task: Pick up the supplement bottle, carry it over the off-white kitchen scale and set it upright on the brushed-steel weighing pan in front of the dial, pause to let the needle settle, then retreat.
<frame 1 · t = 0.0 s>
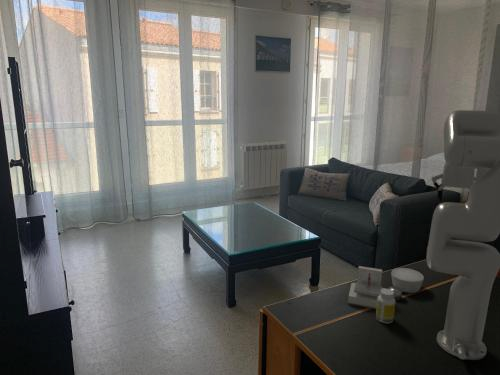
hand: (454, 201, 142), 31 cm above the table, fingers open, 9 cm apart
supplement bottle: (384, 319, 121), on the table
pan: (367, 290, 131), point 4 cm above the table, slide at 1.2 cm
scale housing: (367, 299, 132), on the table
ramekin: (405, 287, 142), on the table
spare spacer: (394, 296, 135), on the table
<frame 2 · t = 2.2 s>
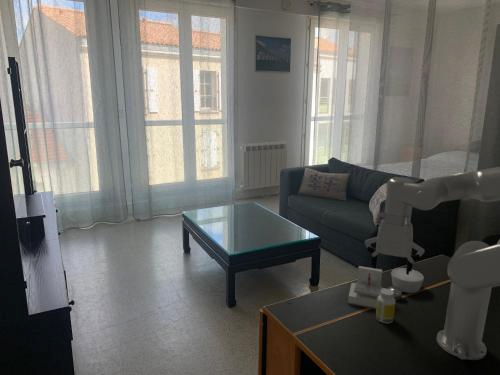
hand: (390, 269, 118), 17 cm above the table, fingers open, 9 cm apart
nothing on the table moved.
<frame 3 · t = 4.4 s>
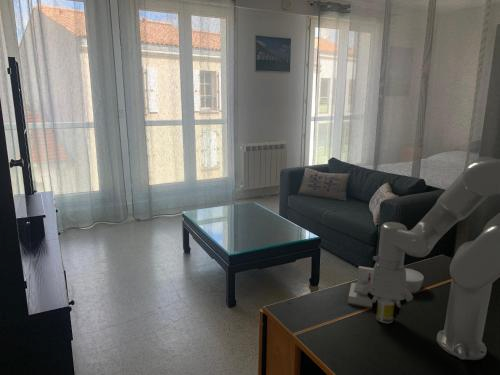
hand: (384, 313, 121), 2 cm above the table, fingers closed on supplement bottle, 5 cm apart
supplement bottle: (384, 319, 121), on the table, touching gripper
everything else where it was.
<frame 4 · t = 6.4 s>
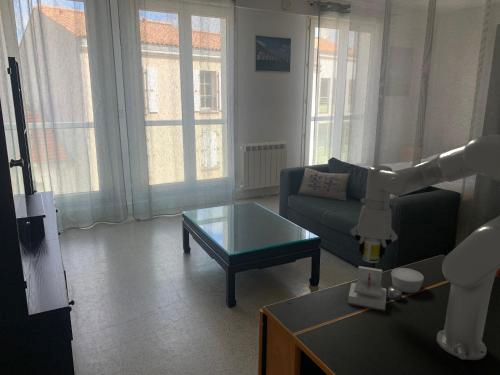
hand: (371, 254, 127), 18 cm above the table, fingers closed on supplement bottle, 5 cm apart
supplement bottle: (370, 260, 127), point 16 cm above the table, touching gripper
everything else where it was.
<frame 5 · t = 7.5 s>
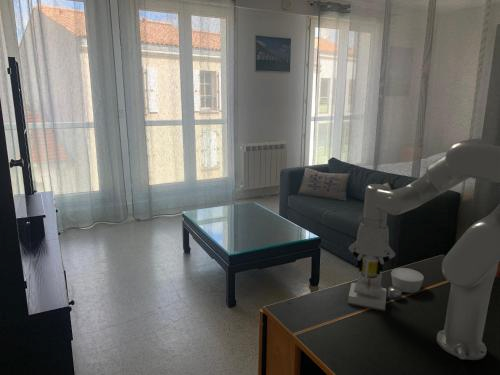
hand: (369, 271, 129), 11 cm above the table, fingers closed on supplement bottle, 5 cm apart
supplement bottle: (368, 276, 129), point 9 cm above the table, touching gripper
everything else where it was.
when the fingers open (9 cm above the table, at t = 8.3 s): supplement bottle drops 2 cm, resting on pan.
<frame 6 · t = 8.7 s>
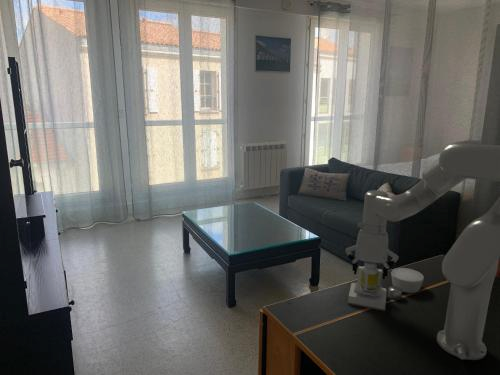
hand: (369, 275, 129), 10 cm above the table, fingers open, 9 cm apart
supplement bottle: (368, 288, 130), point 5 cm above the table, touching pan
pan: (367, 290, 131), point 4 cm above the table, slide at 1.3 cm, touching supplement bottle
everything else where it was.
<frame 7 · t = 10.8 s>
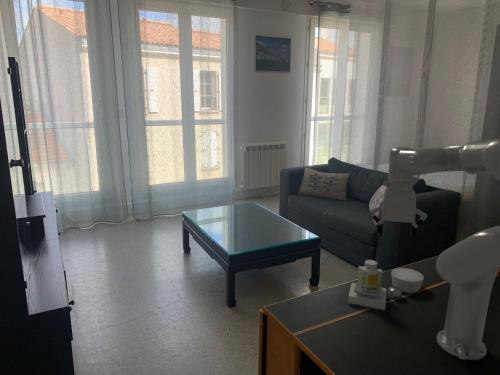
hand: (396, 236, 124), 25 cm above the table, fingers open, 9 cm apart
nothing on the table moved.
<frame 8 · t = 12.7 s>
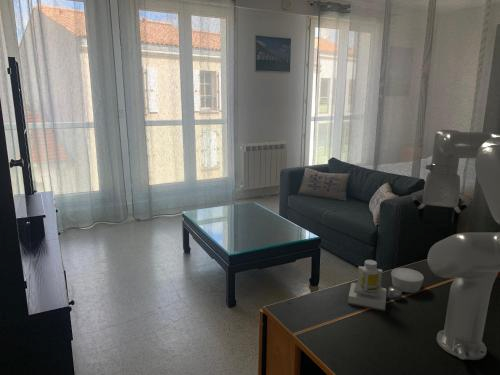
hand: (436, 221, 122), 30 cm above the table, fingers open, 9 cm apart
nothing on the table moved.
at the end: supplement bottle inside the target area on the pan (0.2 cm from its centre), point 6.1 cm above the pan's base; supplement bottle tilted 0°; the gripper is holding nothing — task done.
